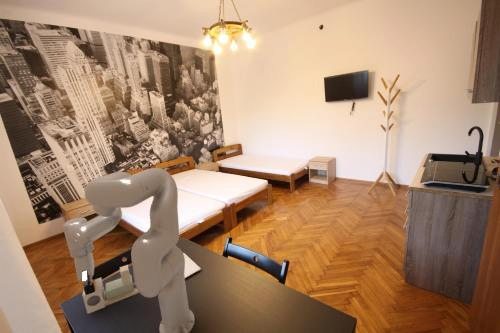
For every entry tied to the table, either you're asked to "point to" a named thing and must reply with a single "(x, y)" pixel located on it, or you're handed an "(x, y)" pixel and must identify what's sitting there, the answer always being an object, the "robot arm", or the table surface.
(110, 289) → the carriage
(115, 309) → the table surface
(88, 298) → the cabinet
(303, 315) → the table surface
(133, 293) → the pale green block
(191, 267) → the plate
